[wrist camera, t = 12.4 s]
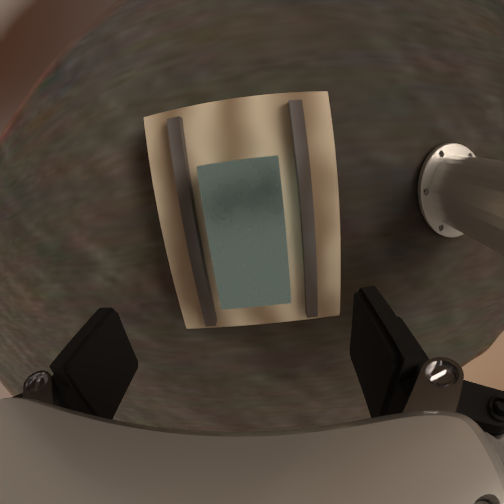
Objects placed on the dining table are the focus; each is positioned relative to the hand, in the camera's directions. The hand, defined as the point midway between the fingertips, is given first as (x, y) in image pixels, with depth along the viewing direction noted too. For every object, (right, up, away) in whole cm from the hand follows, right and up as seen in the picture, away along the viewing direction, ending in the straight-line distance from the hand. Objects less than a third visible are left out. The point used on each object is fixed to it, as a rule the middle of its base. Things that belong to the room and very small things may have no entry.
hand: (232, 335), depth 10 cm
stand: (+1, +8, +21) cm, 22 cm away
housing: (+1, +6, +17) cm, 18 cm away
